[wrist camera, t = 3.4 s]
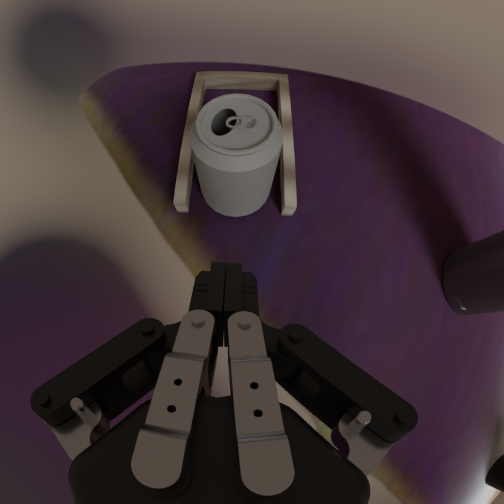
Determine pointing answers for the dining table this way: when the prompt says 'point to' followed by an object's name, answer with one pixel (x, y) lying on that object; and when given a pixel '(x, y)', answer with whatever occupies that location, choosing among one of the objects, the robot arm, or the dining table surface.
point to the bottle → (497, 475)
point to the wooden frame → (284, 116)
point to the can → (236, 152)
